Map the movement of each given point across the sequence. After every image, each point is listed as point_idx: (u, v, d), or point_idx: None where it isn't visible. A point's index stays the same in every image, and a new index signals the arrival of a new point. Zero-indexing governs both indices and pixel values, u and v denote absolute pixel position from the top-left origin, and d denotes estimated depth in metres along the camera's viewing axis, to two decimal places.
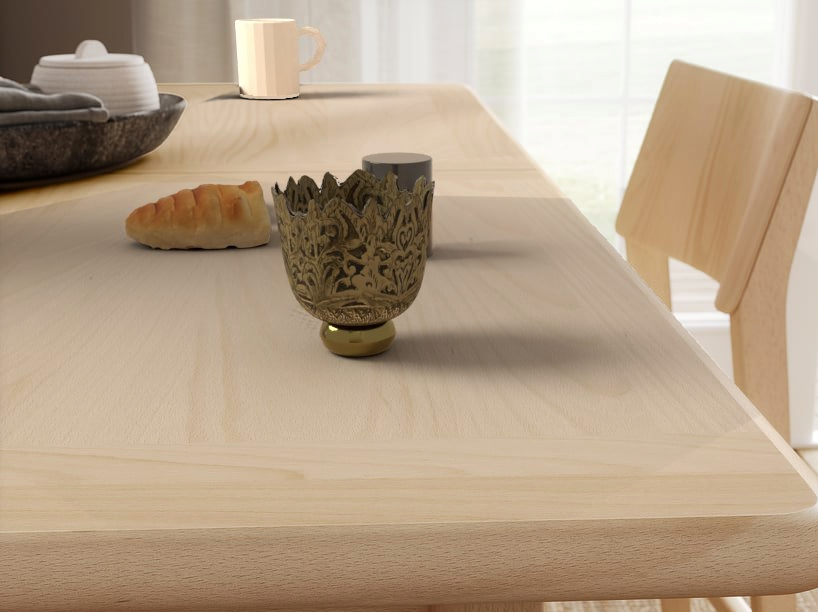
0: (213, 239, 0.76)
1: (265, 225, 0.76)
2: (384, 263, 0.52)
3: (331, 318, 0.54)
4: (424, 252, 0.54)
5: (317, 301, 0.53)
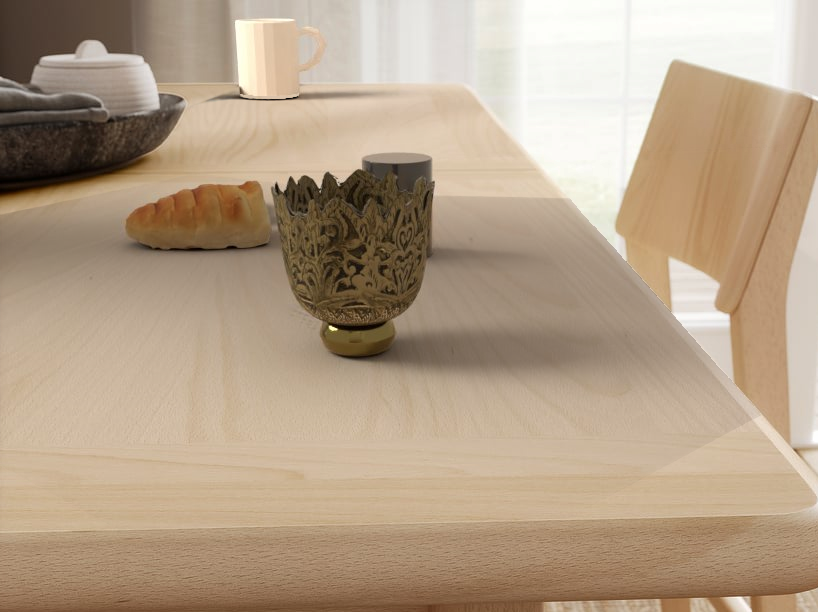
0: (213, 239, 0.76)
1: (265, 225, 0.76)
2: (384, 263, 0.52)
3: (331, 318, 0.54)
4: (424, 252, 0.54)
5: (317, 301, 0.53)
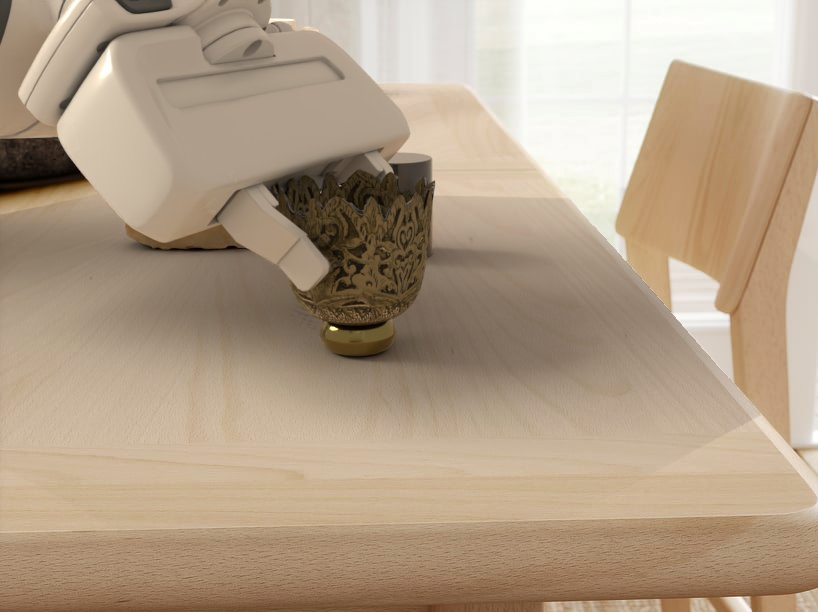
0: (213, 239, 0.76)
1: None
2: (384, 262, 0.52)
3: (331, 317, 0.54)
4: (424, 252, 0.54)
5: (317, 300, 0.53)
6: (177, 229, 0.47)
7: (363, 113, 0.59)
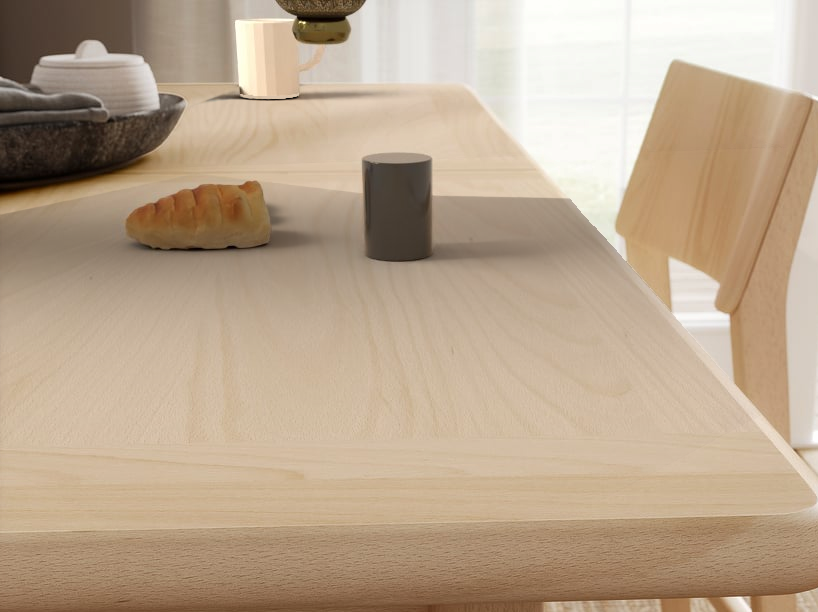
0: (213, 239, 0.76)
1: (265, 225, 0.76)
2: None
3: (300, 7, 0.70)
4: None
5: None
6: None
7: None
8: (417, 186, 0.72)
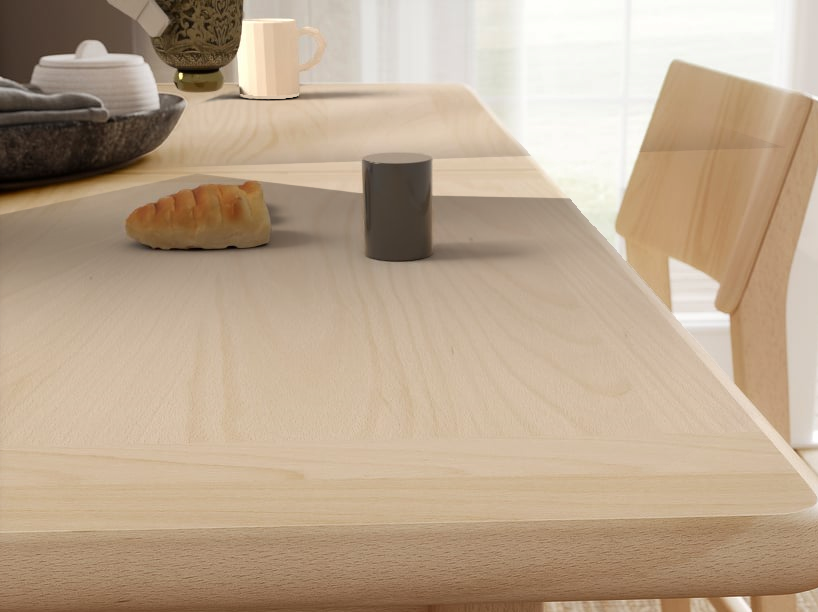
0: (213, 239, 0.76)
1: (265, 225, 0.76)
2: (207, 21, 0.81)
3: (176, 62, 0.83)
4: (237, 20, 0.83)
5: (166, 49, 0.82)
6: None
7: None
8: (417, 186, 0.72)
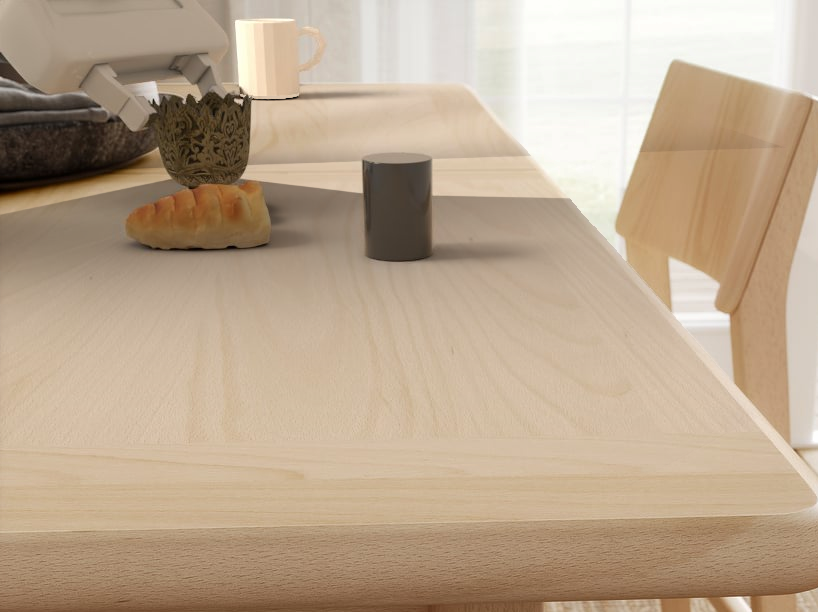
0: (213, 239, 0.76)
1: (265, 225, 0.76)
2: (216, 145, 0.84)
3: (187, 182, 0.86)
4: (245, 141, 0.86)
5: (177, 171, 0.85)
6: (56, 85, 0.79)
7: (193, 29, 0.91)
8: (417, 186, 0.72)
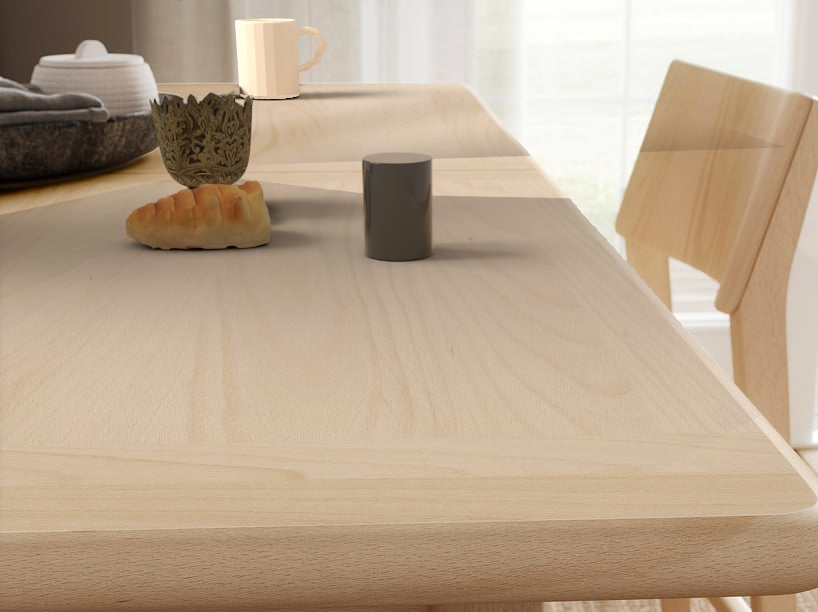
0: (213, 239, 0.76)
1: (265, 225, 0.76)
2: (217, 145, 0.84)
3: (188, 182, 0.86)
4: (246, 141, 0.86)
5: (178, 171, 0.86)
6: None
7: None
8: (417, 186, 0.72)
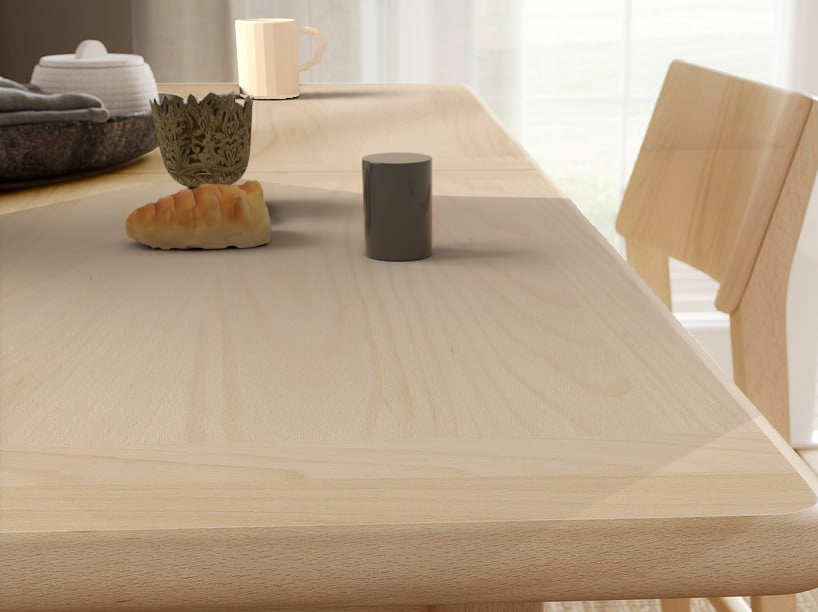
0: (213, 239, 0.76)
1: (265, 225, 0.76)
2: (217, 145, 0.84)
3: (188, 182, 0.86)
4: (246, 141, 0.86)
5: (178, 171, 0.86)
6: None
7: None
8: (417, 186, 0.72)
